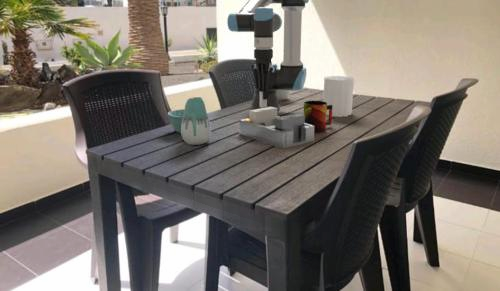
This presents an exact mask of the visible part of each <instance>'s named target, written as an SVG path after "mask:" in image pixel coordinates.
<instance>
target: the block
mask: <svg viewBox="0 0 500 291" xmlns="http://www.w3.org/2000/svg"><path fill="white" fill-rule="evenodd" d="M248 113H249V114H248V118H249V120H251V121H253V123H257V122H264V123H265V126H266V127H269V126H274V119H275V118H277V116H278V110H277V108H275V107H266V108H261V109H255V110H253V109H251V110H249V111H248Z"/></svg>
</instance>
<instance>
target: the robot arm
mask: <svg viewBox="0 0 500 291" xmlns="http://www.w3.org/2000/svg"><path fill="white" fill-rule="evenodd" d="M309 2H310V0H248V1H247V2H246V3H245V5H243V7H241V9H240V10H239V11H238V12H233V13H229V15H228V16H227V21H226V22H227V27H228V30H229V31H230V32H234V33H249V32H250V33H251V32H253V47H254V48H255V49H254V50H253V58H254V59H255V62H254V64H252V65H250V68H251V70H252V76H253V82H254V95H253V98H252V102H251V104H250V105H251V110H255V109H261V108H266V107H275V108H277V111H278V110H280V108H281V107H280V101H278V97H277V90H291V91H292V92H293V91H294V92H295V91H302V90H303V88H304V86H305V83H306V78H307V68H306V67H304V63H303V61H301V55H302V54H301V52H302V51H301V50H302V49H301V48H302V47H301V46H302V45H301V44H302V20H303V18H302V16H303V10H304V9H305V8H306V4H308V3H309ZM271 4H281V6H280V7H281V9H282V10H283V16H284V17H283V19H282V17H281V15H279V14H278V13H275V12H274V9H273V7H268V6H269V5H271ZM282 25H283V60H282V61H281V63H279V64H280V65H279V66H278V64H277V63H272V59H273V58H274V50H273V47H274V33H275V32H278V31H279V30H280V29H281V27H282Z"/></svg>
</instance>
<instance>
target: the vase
mask: <svg viewBox="0 0 500 291" xmlns="http://www.w3.org/2000/svg"><path fill="white" fill-rule="evenodd" d="M184 109H185V110H184V115H183V119H182V124H181V133H180V134H181V137H182V139H183V141H184V142H185V143H186V144H188V145H192V146H200V145H203V144H206V143H207V142H208V141H209V140H210V138H211V134H212V127H211V123H210V122H211V121H210V118H209V115H208V112H207V108H206V105H205V101H204V100H203V98H202V97H201V96H198V97H195V96H194V97H190V98H188V99H187V100H186V102H185V106H184Z"/></svg>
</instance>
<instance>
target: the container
mask: <svg viewBox="0 0 500 291" xmlns="http://www.w3.org/2000/svg"><path fill="white" fill-rule="evenodd" d="M354 85H355V78H354V77H351V76H345V75H344V76H341V75H333V76H325V77H324V80H323V98H322V99H323V100H322V101H323V102H326V103H327V105H333V106H332V117H339V118H340V117H341V118H342V117H343V116H344V117H349V116H348V115H350V116H352V114H353V113H352V112H353V98H354ZM327 116H328V117H329V109H328V110H327V112H326V117H327Z"/></svg>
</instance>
